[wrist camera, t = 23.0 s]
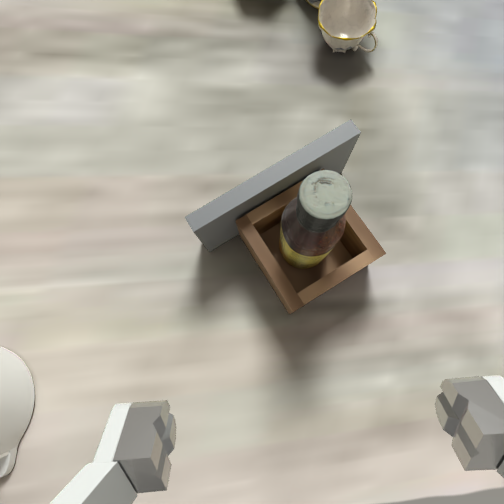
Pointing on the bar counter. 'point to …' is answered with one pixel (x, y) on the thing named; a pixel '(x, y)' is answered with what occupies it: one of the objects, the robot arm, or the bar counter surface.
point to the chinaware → (346, 22)
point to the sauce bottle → (314, 219)
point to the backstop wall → (271, 184)
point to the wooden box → (312, 279)
